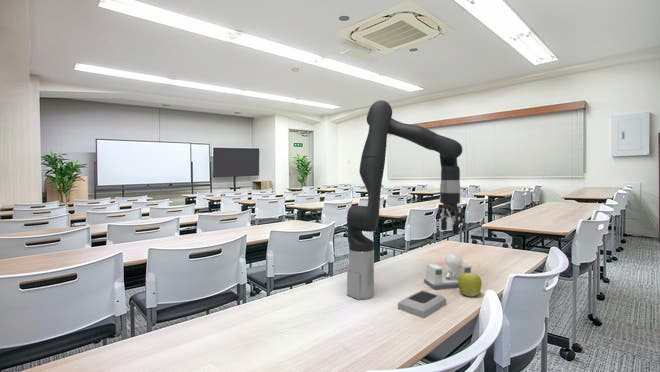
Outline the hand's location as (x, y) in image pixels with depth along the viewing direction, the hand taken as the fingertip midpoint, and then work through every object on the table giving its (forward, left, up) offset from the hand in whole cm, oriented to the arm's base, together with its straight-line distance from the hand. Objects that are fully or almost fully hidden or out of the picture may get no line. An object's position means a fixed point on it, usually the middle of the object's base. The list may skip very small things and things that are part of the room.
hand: (449, 231), depth 128 cm
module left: (-5, +3, -20) cm, 21 cm away
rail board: (0, 0, -22) cm, 22 cm away
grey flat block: (-26, -5, -22) cm, 35 cm away
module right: (+6, -3, -20) cm, 21 cm away
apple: (-4, -10, -22) cm, 24 cm away
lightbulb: (0, +1, -19) cm, 19 cm away
